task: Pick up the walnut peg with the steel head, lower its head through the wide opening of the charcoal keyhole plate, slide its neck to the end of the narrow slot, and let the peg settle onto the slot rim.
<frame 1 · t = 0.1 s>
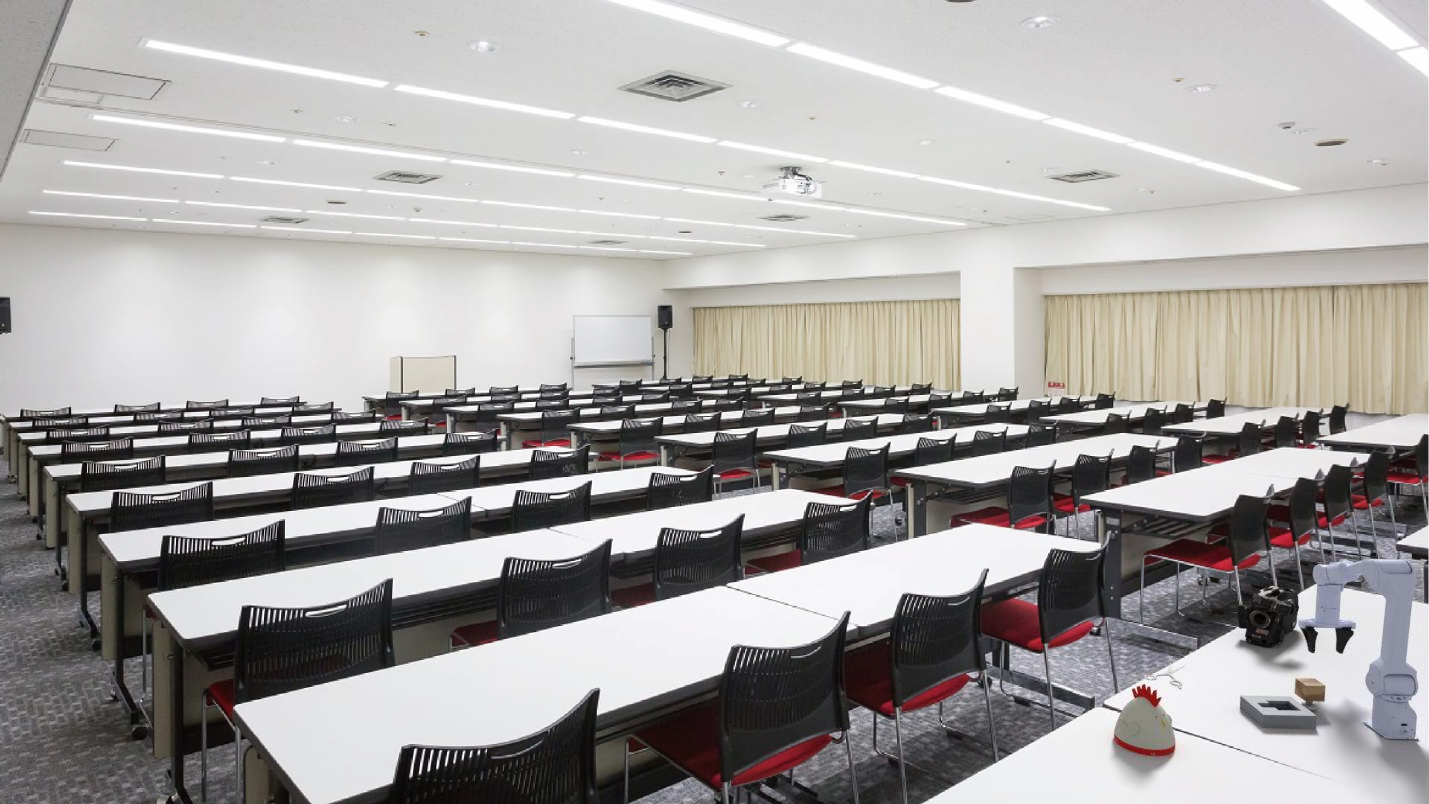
hand: (1325, 652, 260), 10 cm above the table, tool pointing down, fingers open, 7 cm apart
kitchen timer: (1144, 743, 228), on the table
scissors: (1169, 675, 271), on the table
keyhole plate: (1276, 717, 241), on the table
peg: (1308, 708, 246), on the table
movie camera: (1274, 638, 299), on the table
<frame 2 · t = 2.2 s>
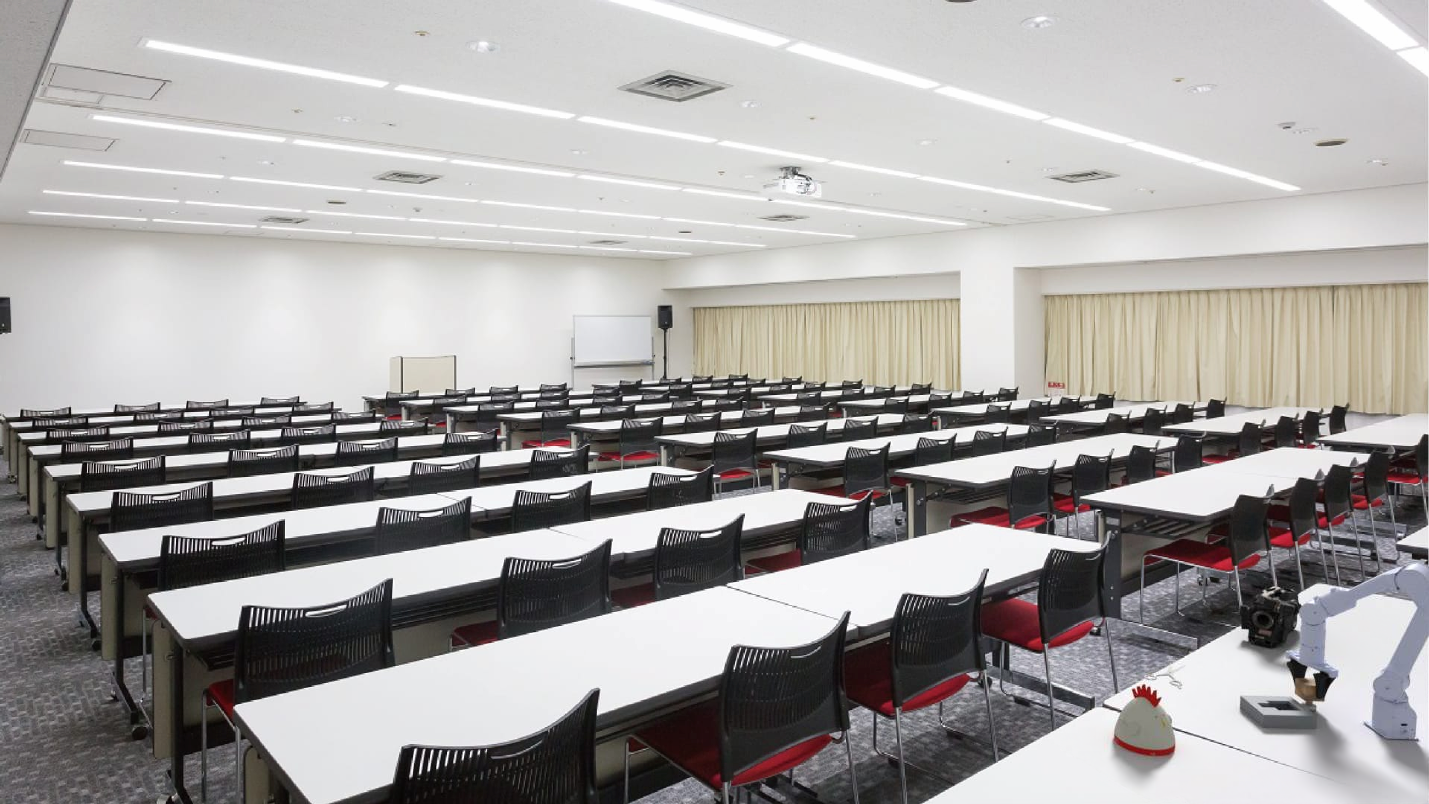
hand: (1309, 693, 245), 4 cm above the table, tool pointing down, fingers closed on peg, 6 cm apart
peg: (1308, 708, 246), on the table, touching gripper
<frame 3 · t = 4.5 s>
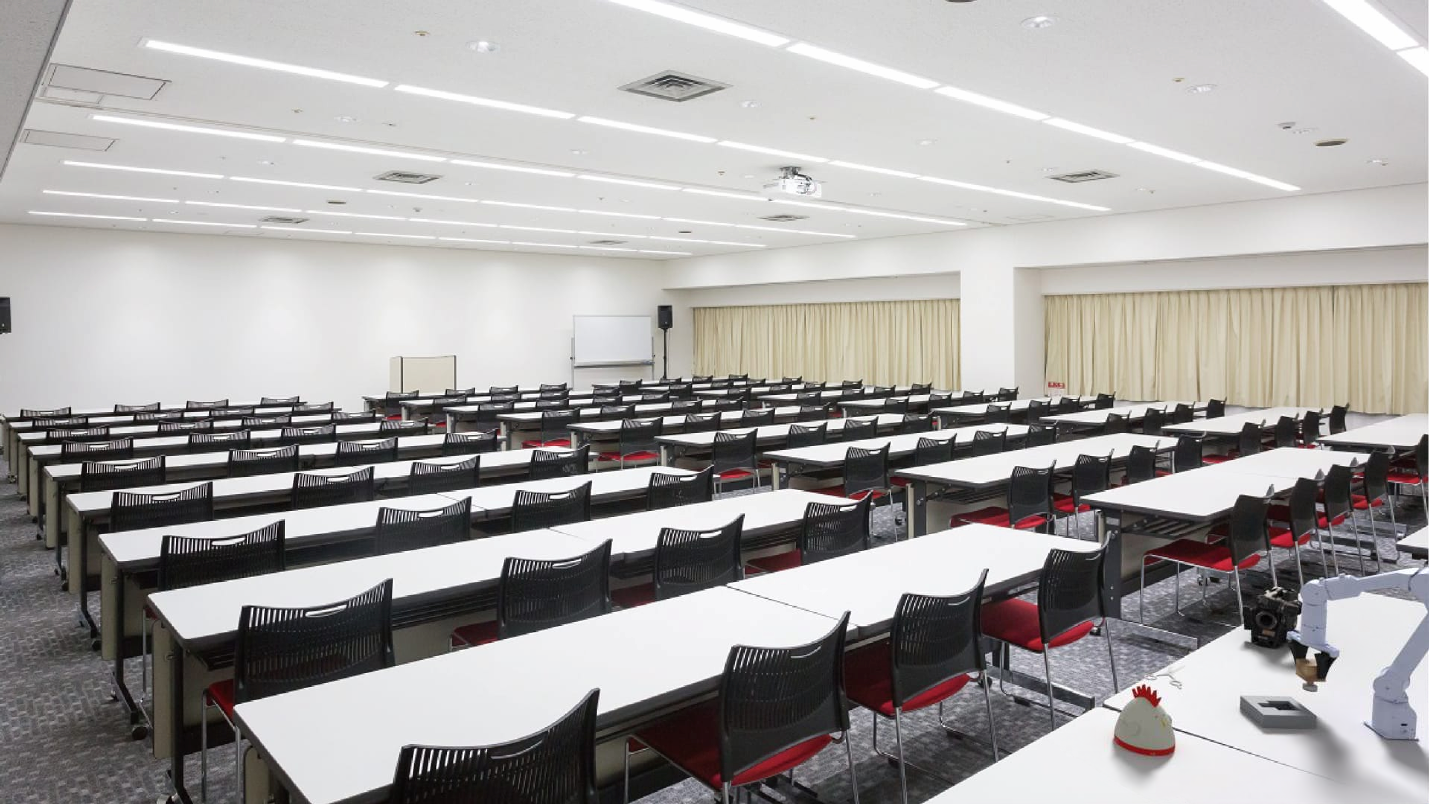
hand: (1310, 673, 245), 10 cm above the table, tool pointing down, fingers closed on peg, 6 cm apart
peg: (1309, 689, 245), point 5 cm above the table, touching gripper
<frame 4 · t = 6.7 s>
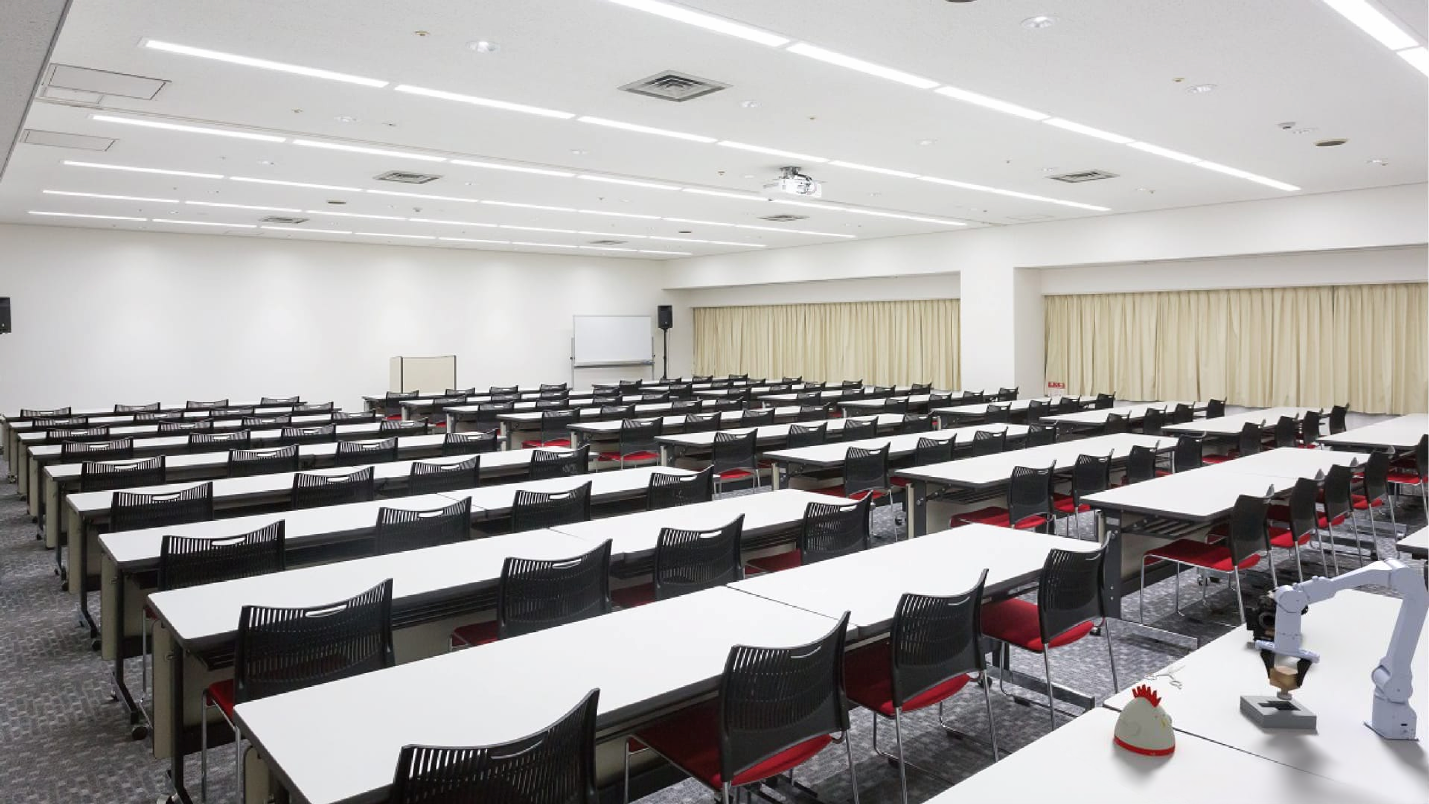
hand: (1285, 681, 240), 10 cm above the table, tool pointing down, fingers closed on peg, 6 cm apart
peg: (1284, 697, 240), point 5 cm above the table, touching gripper
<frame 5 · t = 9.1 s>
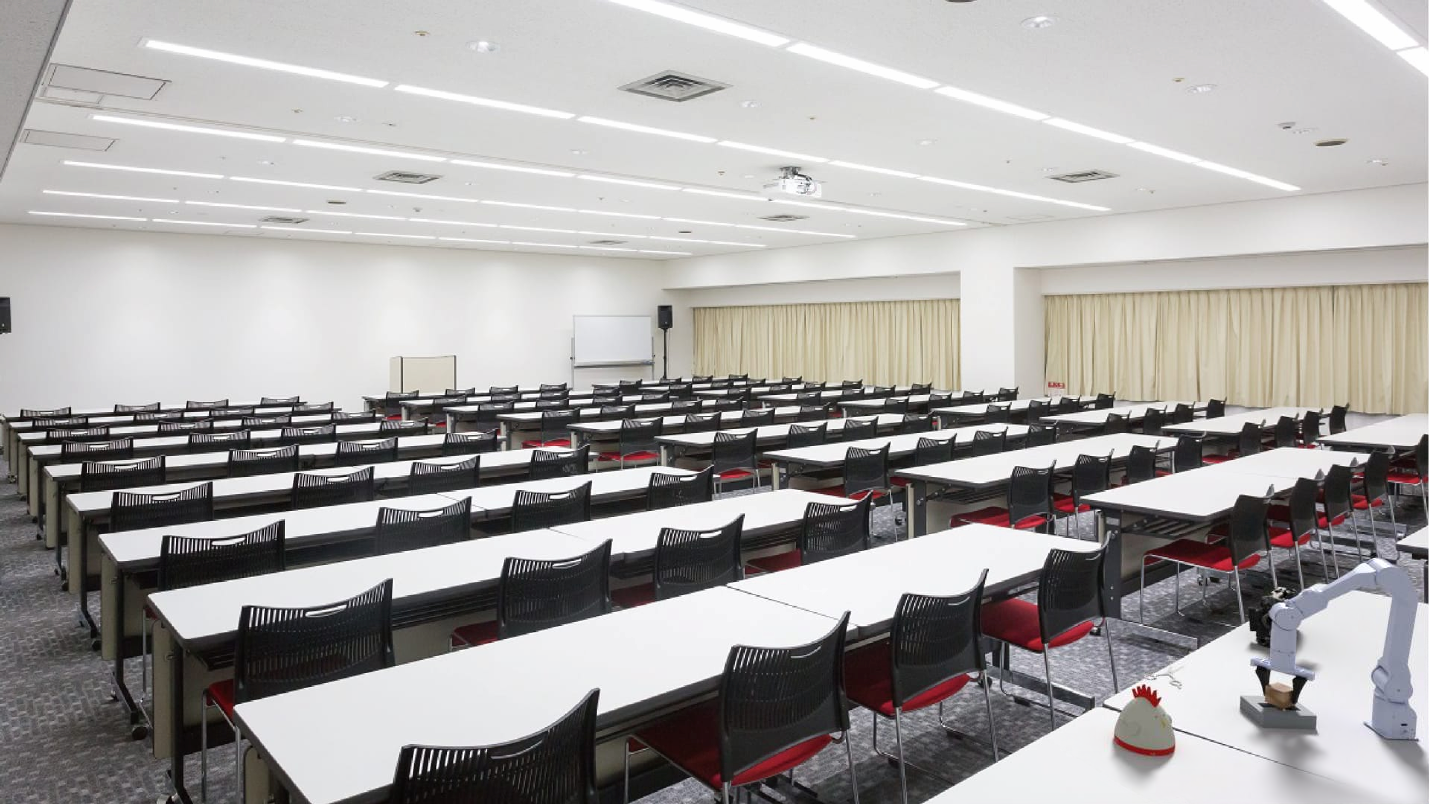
hand: (1280, 698, 240), 5 cm above the table, tool pointing down, fingers closed on peg, 6 cm apart
peg: (1279, 714, 241), point 1 cm above the table, touching gripper
when the fingers open (5 cm above the table, at t = 11.3 s): peg stays where it is, resting on keyhole plate.
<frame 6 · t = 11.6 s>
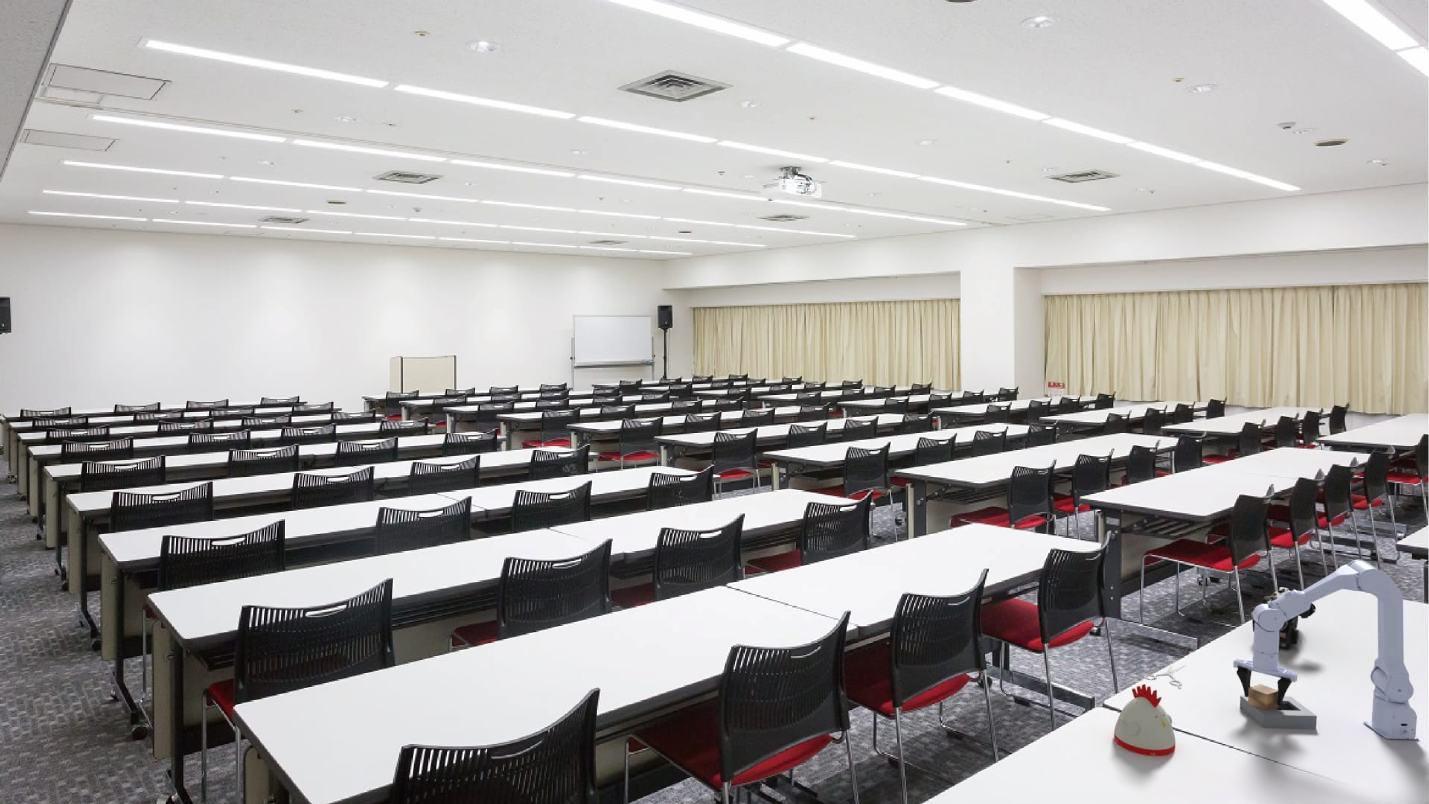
hand: (1263, 700, 241), 5 cm above the table, tool pointing down, fingers open, 7 cm apart
peg: (1262, 716, 241), resting on keyhole plate
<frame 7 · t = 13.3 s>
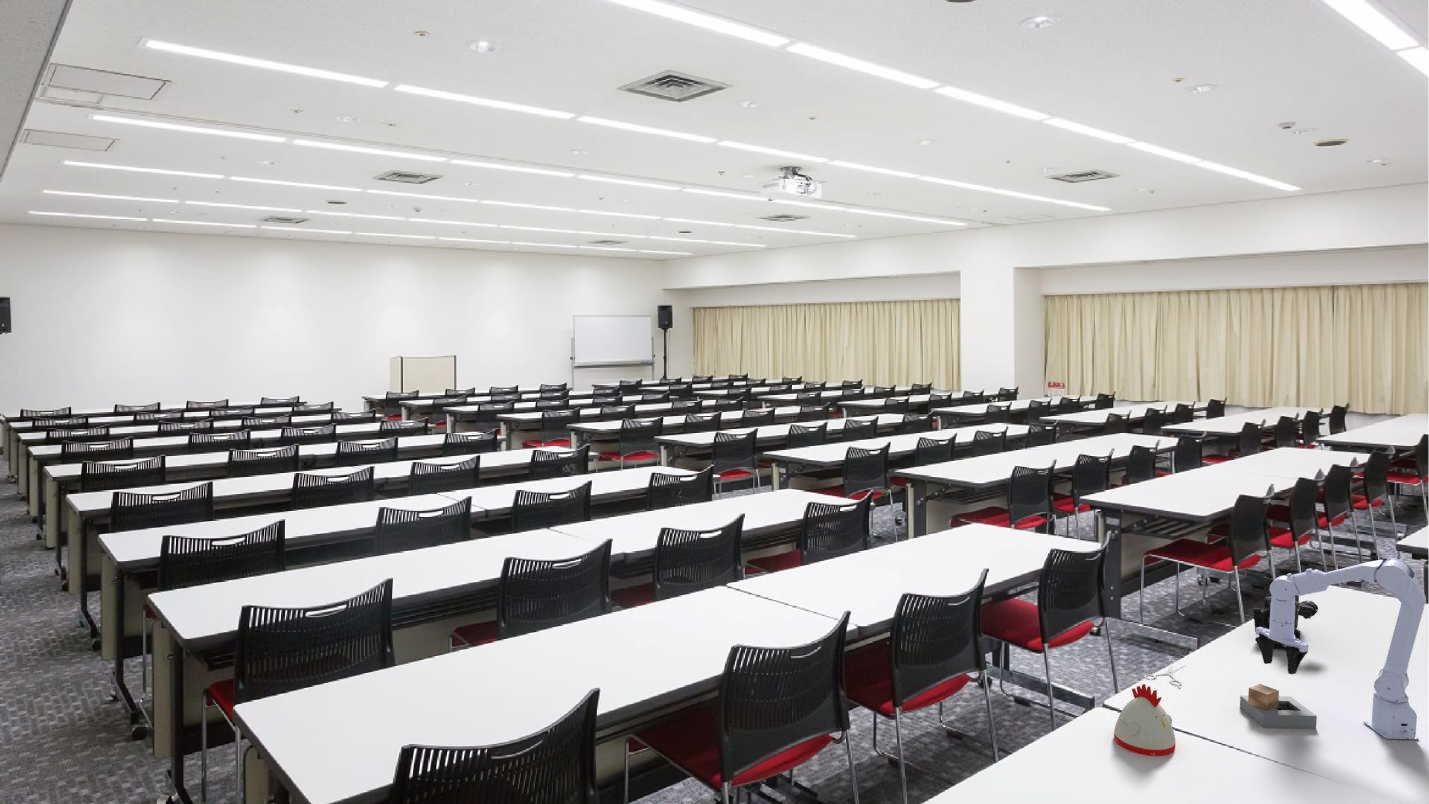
hand: (1279, 668, 249), 10 cm above the table, tool pointing down, fingers open, 7 cm apart
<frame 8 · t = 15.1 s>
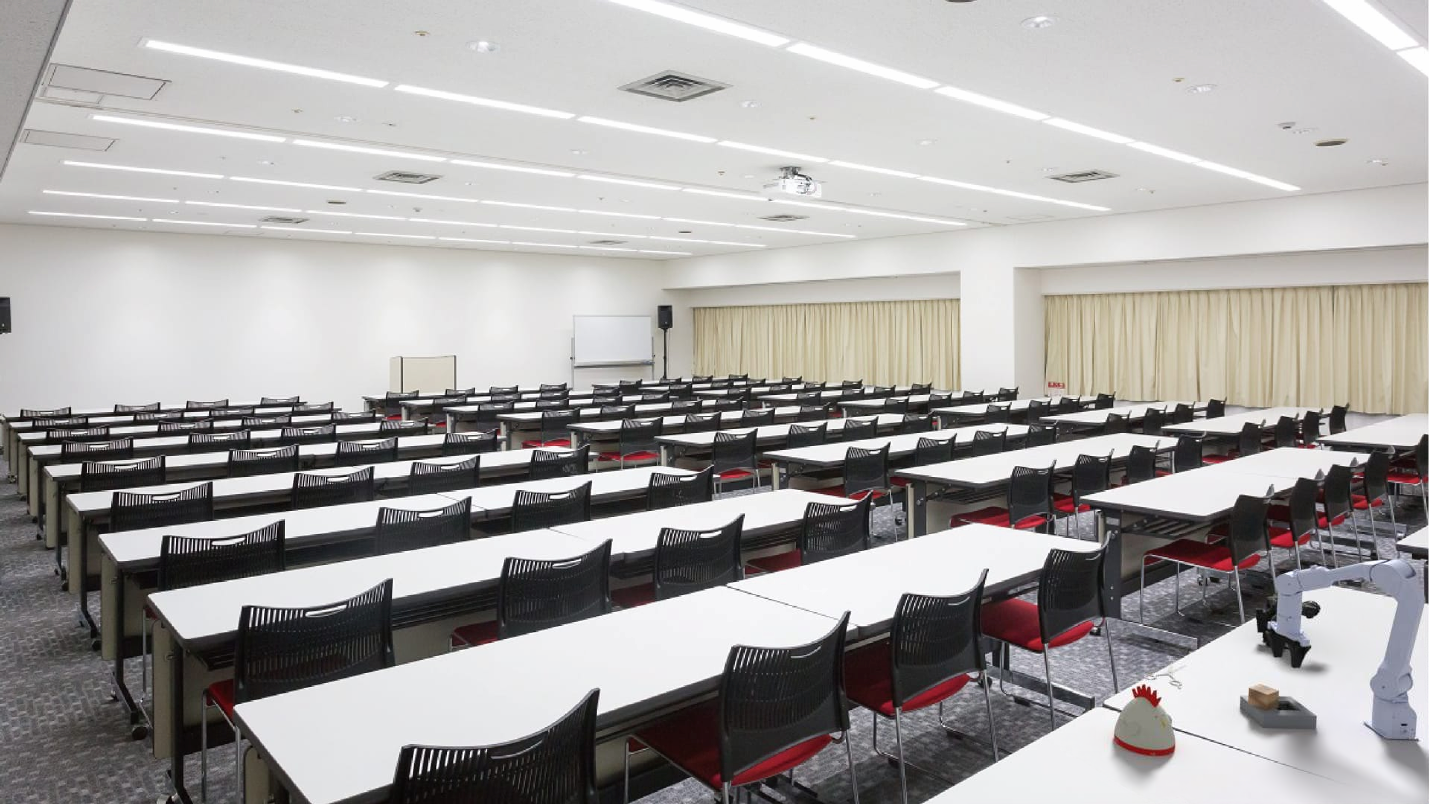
hand: (1286, 662, 253), 10 cm above the table, tool pointing down, fingers open, 7 cm apart
at the end: peg 0.1 cm from the target spot on the keyhole plate, point 0.2 cm above the keyhole plate's base; peg tilted 0°; the gripper is holding nothing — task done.
